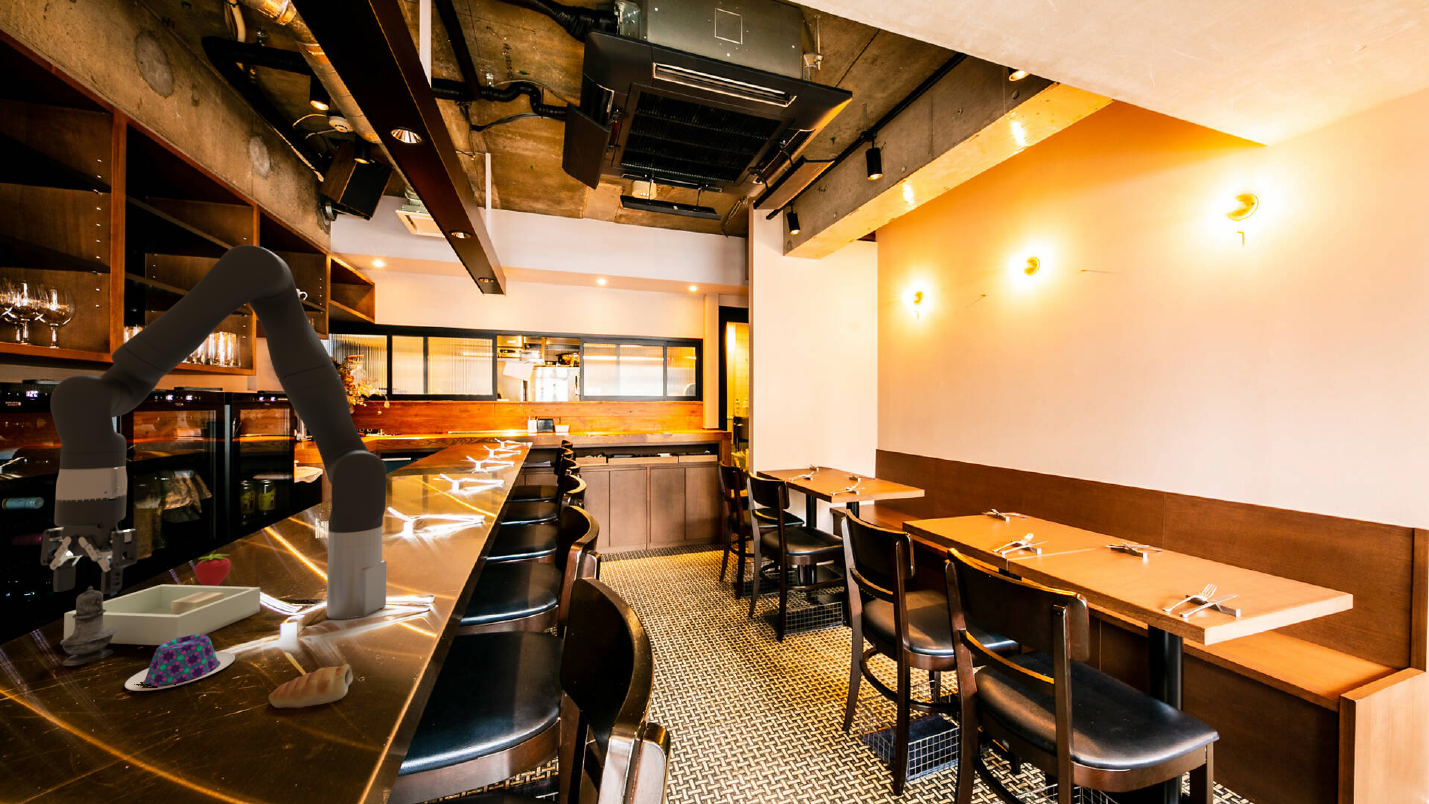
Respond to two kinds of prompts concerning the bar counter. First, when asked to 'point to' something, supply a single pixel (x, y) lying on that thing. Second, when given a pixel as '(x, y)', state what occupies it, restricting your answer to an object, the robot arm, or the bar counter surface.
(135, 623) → the tray
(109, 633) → the dark grey tiered piece
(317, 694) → the pastry
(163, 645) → the patterned hat
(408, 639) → the bar counter surface
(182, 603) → the maple block
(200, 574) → the strawberry
